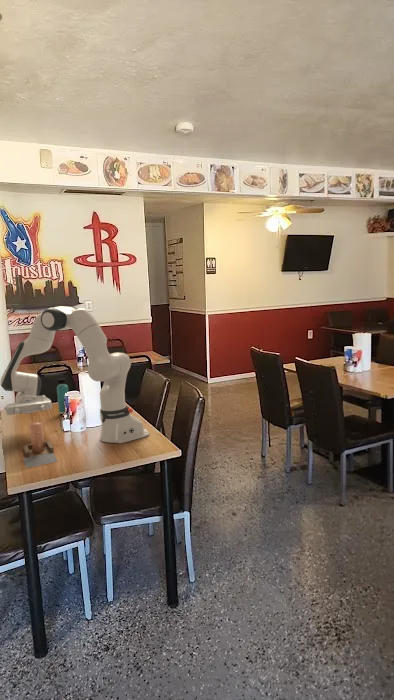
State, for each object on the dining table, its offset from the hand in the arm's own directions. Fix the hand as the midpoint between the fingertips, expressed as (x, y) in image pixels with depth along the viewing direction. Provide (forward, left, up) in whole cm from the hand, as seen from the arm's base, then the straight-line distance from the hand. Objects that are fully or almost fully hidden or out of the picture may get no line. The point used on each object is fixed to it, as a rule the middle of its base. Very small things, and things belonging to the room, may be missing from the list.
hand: (30, 410), depth 209 cm
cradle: (0, +12, -15) cm, 20 cm away
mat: (+1, +24, -16) cm, 29 cm away
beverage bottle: (-22, -45, -16) cm, 52 cm away
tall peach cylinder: (0, +14, -15) cm, 20 cm away
